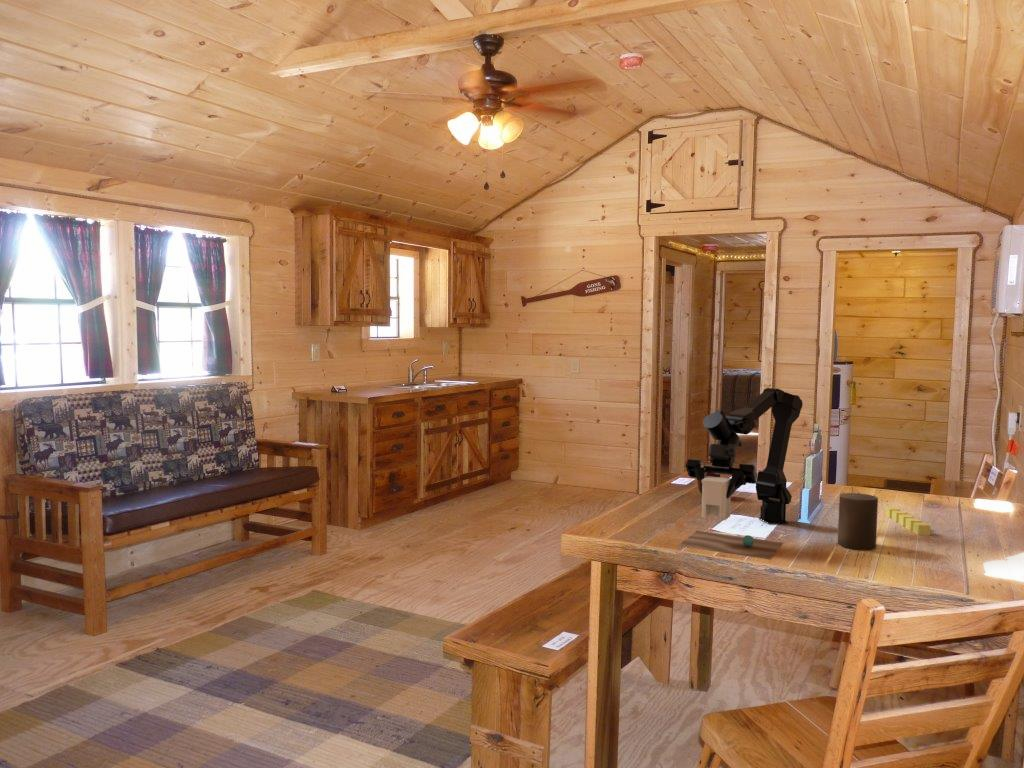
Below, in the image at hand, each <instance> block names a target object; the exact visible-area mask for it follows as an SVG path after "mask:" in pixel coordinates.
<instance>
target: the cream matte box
mask: <svg viewBox="0 0 1024 768" xmlns="http://www.w3.org/2000/svg"><path fill="white" fill-rule="evenodd" d="M731 478H732V477H731ZM731 478H730V477H721V476H720V477H712V476H707V477H706V478H704V479H702V482H701V483H702V495H701V515H700V517H701V518H703V519H704V520H706V519H707V517H708V516H709V515H713V516H718V521H720V522H722V521H727V520H728V519H729V518H730V517H731V499H732V495H731V496H730V497H729V498H727V497H726V495H727V490H728V487H729V484H730V481H731Z"/></svg>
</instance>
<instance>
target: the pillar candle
mask: <svg viewBox="0 0 1024 768" xmlns="http://www.w3.org/2000/svg"><path fill="white" fill-rule="evenodd" d="M878 500H879V498H878V496H875V495H871V494H867V493H860V491H857V493H855V492H845V493H844V492H843V493H839V504H838V520H837V521H838V523H837V524H838V525H837V544H838V545H839V546H840V547H843V548H846V549H850V550H858V551H873V550H875V549H877V536H878V535H877V528H878V503H879V501H878Z"/></svg>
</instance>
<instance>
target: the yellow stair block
mask: <svg viewBox="0 0 1024 768" xmlns="http://www.w3.org/2000/svg"><path fill="white" fill-rule="evenodd" d="M885 515H886V516H887V517H886V516H885ZM884 516H885V517H886V518H888V517H889V518H892V519H893V520H894V521H893V520H892V519H891V520H892V521H893V522H895V521H896V522H895V523H899V524H898V525H900V524H901V525H900V526H902V527H906V529H907V530H908V531H911V532H913V533H915V534H916V535H918V536H931V524H928V523H927V522H923V520H921V519H919V518H916V517H915V516H913V515H911V514H908V513H907V512H906V511H904V510H901V509H900V508H899V507H896V506H893V507H892V506H885V508H884ZM889 518H888V519H889Z"/></svg>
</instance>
